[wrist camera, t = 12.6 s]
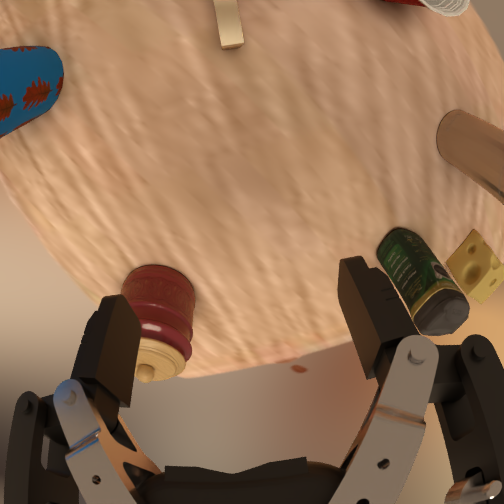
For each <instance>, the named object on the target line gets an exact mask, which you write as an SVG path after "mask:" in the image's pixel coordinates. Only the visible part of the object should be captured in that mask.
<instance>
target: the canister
mask: <svg viewBox="0 0 504 504" xmlns="http://www.w3.org/2000/svg"><path fill="white" fill-rule="evenodd" d="M121 294H122V295H124V296H125V298H126V300H127V301H128V303H129V304H130V306H131V308H132V309H133V311H134V312H135V314H136V316H137V317H138V319H139V321H140V324H141V330H142V333H141V339H140V345H139V350H138V356H137V362H136V368H135V374H134V376H135V377H137V378H138V379H139V380H140V381H141V382H144V383H148V382H151V381H160V380H165V379H169V378H171V377H174V376H177V375H179V374H180V373H182V372H183V370H184V369H185V366H186V362H187V361H188V360H189V359H190V357H191V355H192V346H191V344H190V341H191V339H192V337H193V329H192V324H193V311H194V308H195V295H194V290H193V287H192V285H191V284H190V282H189V281H188V280H187V279H186V278H185V277H184V276H183V275H182V274H180V273H179V272H177V271H175V270H173V269H171V268H168V267H164V266H158V265H148V266H143V267H140V268H137V269H135V270H134V271H132V272H131V273H130V274H129V276H128V277H127V279H126V280H125V281H124V283H123V286H122V289H121Z"/></svg>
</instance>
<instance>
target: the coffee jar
mask: <svg viewBox="0 0 504 504" xmlns="http://www.w3.org/2000/svg"><path fill="white" fill-rule="evenodd" d="M377 258H378V260H379V262H380V263H381V265H382V266H383V268H384V269H385V271H386V272H387V274H388V275H389V277H390V278H391V280H392V282H393V283H394V285H395V286H396V288H397V290H398V291H399V293H400V295H401V296H402V298H403V300H404V301H405V303H406V305H407V307H408V309H409V311H410V314H411V318H412V320H413V322H414V324H415V325H416V327H417V328H418V330H419V331H420V333H421V334H423V335H429V336H441V335H445V334H452V333H454V332H455V331H456V330H457V329H458V328H459V327H460V326H461V325H462V324H463V323H464V322H465V321H466V320H467V318H468V314H469V309H470V307H469V303H468V302H467V300H466V298H465V296H464V294H463V293H462V291H461V290H460V289H459V288H458V286H457V285H456V284H455V283H454V281H453V280H452V279H451V277H450V276H449V275H448V273H447V272H446V270H445V269H444V267H443V266H442V265H441V263H440V262H439V261H438V259H437V258H436V256H435V255H434V254H433V252H432V251H431V250H430V248H429V247H428V246H427V244H426V243H425V242H424V240H423V239H422V238H421V237H420V236H418V235H417V234H415V233H413V232H411V231H408V230H405V229H396V230H395V231H393V232H391V233H390V234H389V235H388V236H387V237H386V238H385V239H384V241H383V242H382V244H381V245H380V248H379V250H378V253H377Z"/></svg>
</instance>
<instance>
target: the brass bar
mask: <svg viewBox="0 0 504 504" xmlns="http://www.w3.org/2000/svg"><path fill="white" fill-rule="evenodd" d="M213 1H214V6H215V12H216V17H217V23H218V29H219V34H220V40H221V45H222V50H225V49H232V48H238V47H241V46H242V45H243V43H244V39H243V33H242V27H241V21H240V15H239V10H238V4H237V0H213Z"/></svg>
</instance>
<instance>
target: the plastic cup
mask: <svg viewBox="0 0 504 504" xmlns="http://www.w3.org/2000/svg"><path fill="white" fill-rule="evenodd" d="M383 1H387V2H396V3H401V4H409V5H417V6H423V7H427V8H428V9H430V10H432V11H435V12H437V13H439V14H442V15H444V16H446V17H447V16H459V15H460V14H462V13H463V12H464V11H465V10H466V9H467V8H468V4H469V1H470V0H383Z"/></svg>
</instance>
